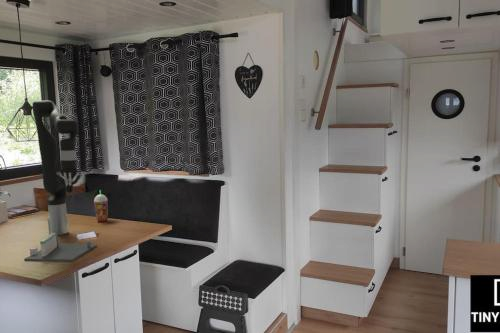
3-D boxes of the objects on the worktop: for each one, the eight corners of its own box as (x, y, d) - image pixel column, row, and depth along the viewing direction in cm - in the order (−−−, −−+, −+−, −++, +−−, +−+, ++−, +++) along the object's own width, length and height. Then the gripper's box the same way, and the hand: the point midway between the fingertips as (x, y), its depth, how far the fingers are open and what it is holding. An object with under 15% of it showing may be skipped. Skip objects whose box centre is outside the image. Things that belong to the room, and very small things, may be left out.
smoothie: (97, 219, 278) (95, 189, 275) (110, 219, 278) (108, 188, 276) (93, 223, 269) (91, 191, 267) (107, 222, 270) (105, 190, 268)
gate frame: (23, 260, 202) (21, 240, 200) (52, 245, 224) (50, 227, 223) (72, 261, 198) (70, 241, 197) (97, 246, 221) (95, 228, 219)
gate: (53, 247, 217) (52, 233, 216) (57, 246, 217) (56, 232, 216) (41, 256, 202) (40, 241, 201) (45, 256, 202) (44, 241, 201)
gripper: (84, 158, 225) (85, 191, 227) (58, 158, 225) (60, 191, 227) (78, 159, 217) (79, 193, 219) (52, 159, 217) (53, 193, 219)
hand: (69, 192), depth 223 cm, fingers closed
